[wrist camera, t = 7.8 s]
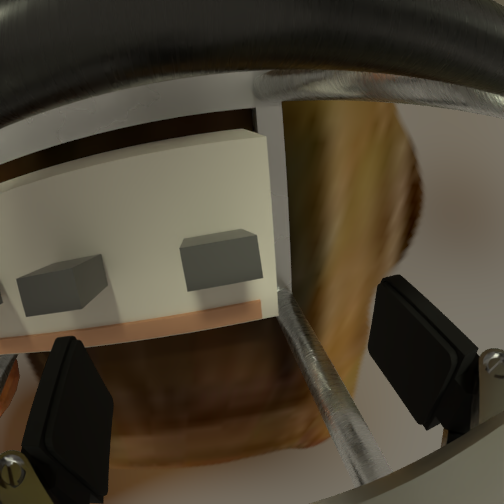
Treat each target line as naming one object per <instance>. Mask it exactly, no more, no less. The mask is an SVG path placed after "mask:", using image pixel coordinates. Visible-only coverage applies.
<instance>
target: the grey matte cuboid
mask: <svg viewBox="0 0 504 504" xmlns="http://www.w3.org/2000/svg"><path fill="white" fill-rule="evenodd" d="M179 249H180V255H181V260H182V266H183V271H184V276H185V281H186V287H187V292H190V291H196V290H201V289H207V288H213V287H218V286H224V285H229V284H235V283H240V282H245V281H251V280H256V279H261V278H263V272H262V266H261V259H260V252H259V245H258V239H257V235H256V234H253V233H251V232H248V231H246V230H244V229H237V230H231V231H225V232H219V233H213V234H207V235H201V236H195V237H190V238H184V239H183V241H182V243H181V246H180V248H179Z"/></svg>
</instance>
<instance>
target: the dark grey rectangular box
mask: <svg viewBox="0 0 504 504" xmlns="http://www.w3.org/2000/svg"><path fill="white" fill-rule="evenodd" d="M16 281H17V285H18V289H19V293H20V297H21V301H22V305H23V308H24V312H25V315H26V317H30V316H38V315H45V314H52V313H59V312H66V311H72V310H79V309H83V308H84V307H85V306H86V305H87V304H88V303H89V302H90V301H91V300H93V299H94V298H95V297H96V296H97V295H98V294H99V293H100V292H101V291H102V290H104V289H105V288H106V287H107V286H108V283H107V279H106V274H105V270H104V265H103V260H102V255H101V254H97V255H92V256H87V257H82V258H76V259H71V260H66V261H61V262H56V263H53V264H50V265H48V266H45V267H43V268H40V269H38V270H36V271H33V272H31V273H29V274H26V275H24V276H21V277H19V278H17V279H16Z"/></svg>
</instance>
